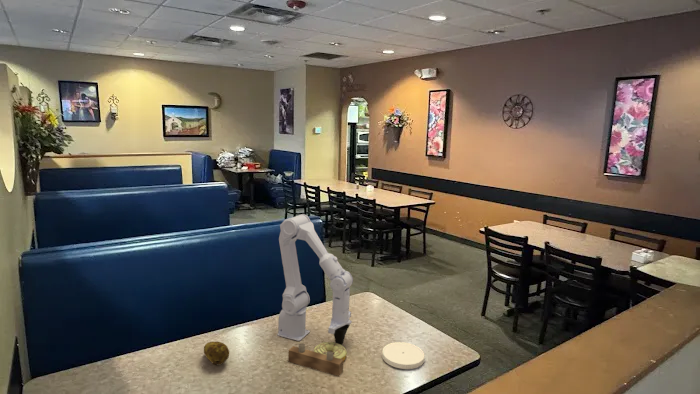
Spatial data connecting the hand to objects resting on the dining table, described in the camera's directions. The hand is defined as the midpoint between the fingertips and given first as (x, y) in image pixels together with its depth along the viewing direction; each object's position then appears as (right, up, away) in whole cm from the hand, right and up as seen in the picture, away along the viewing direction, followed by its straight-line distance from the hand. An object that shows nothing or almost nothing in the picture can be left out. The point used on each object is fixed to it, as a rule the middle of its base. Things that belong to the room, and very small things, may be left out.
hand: (339, 344), depth 145 cm
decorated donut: (-3, -3, -6) cm, 8 cm away
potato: (-39, -2, -12) cm, 41 cm away
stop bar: (-7, -3, -12) cm, 14 cm away
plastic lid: (+21, -4, -5) cm, 22 cm away
